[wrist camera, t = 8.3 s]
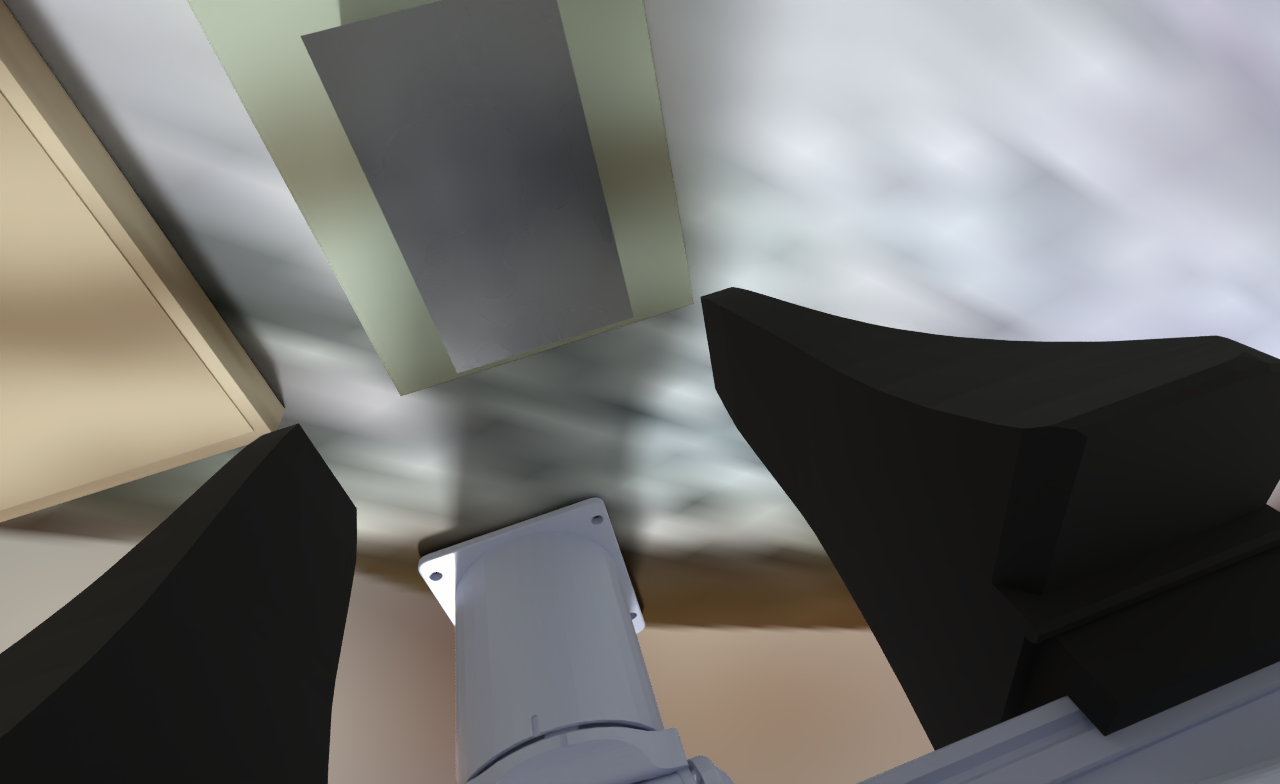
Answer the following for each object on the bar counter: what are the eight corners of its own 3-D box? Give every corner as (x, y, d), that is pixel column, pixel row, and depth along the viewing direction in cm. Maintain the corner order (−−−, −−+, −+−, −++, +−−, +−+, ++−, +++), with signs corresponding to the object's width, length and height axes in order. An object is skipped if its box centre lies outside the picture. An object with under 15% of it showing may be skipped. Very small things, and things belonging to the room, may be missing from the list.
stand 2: (680, 286, 21) (694, 303, 20) (403, 372, 20) (400, 396, 19) (599, -159, 14) (613, -175, 13) (176, -63, 13) (148, -71, 12)
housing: (596, 255, 18) (633, 317, 14) (456, 298, 18) (457, 373, 14) (524, -17, 14) (549, -28, 10) (341, 30, 14) (300, 36, 10)
